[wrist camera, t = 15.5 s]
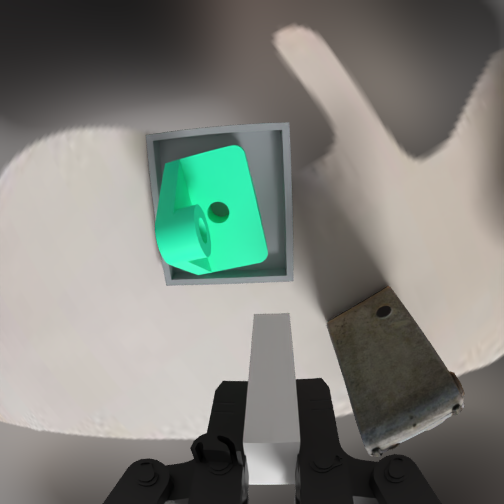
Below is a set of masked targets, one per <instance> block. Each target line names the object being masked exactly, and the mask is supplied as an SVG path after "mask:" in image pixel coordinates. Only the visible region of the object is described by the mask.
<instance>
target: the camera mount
mask: <svg viewBox="0 0 504 504" xmlns="http://www.w3.org/2000/svg"><path fill="white" fill-rule="evenodd" d="M214 202H222V203H224V204H226V205H227V207H228V209H229V214H228V215H226V216H224V217H220V216H217V215H215V214H214V213H213V212H212V209H211V204H212V203H214ZM155 234H156V240H157V245H158V248H159V251H160V253H161V255H162V257H163V259H164V260H165V262H166V263H167V264H169V265H172V266H174V267H177V268H180V269H183V270H185V271H188V272H191V273H194V274H196V275H202V274H207V273H212V272H217V271H222V270H227V269H232V268H237V267H242V266H247V265H252V264H256V263H261V262H263V261H264V260H265V259H266V258H267V255H268V248H267V242H266V238H265V234H264V229H263V225H262V218H261V214H260V209H259V205H258V201H257V197H256V192H255V188H254V184H253V180H252V177H251V174H250V170H249V165H248V161H247V157H246V153H245V151H244V149H243V148H242V147H241V146H238V145H231V146H227V147H223V148H219V149H215V150H211V151H207V152H204V153H200V154H196V155H193V156H189V157H185V158H182V159H178V160H175V161H172V162H168V163H165V167H164V172H163V178H162V184H161V190H160V196H159V202H158V208H157V215H156V222H155Z"/></svg>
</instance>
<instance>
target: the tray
mask: <svg viewBox="0 0 504 504" xmlns="http://www.w3.org/2000/svg"><path fill="white" fill-rule="evenodd" d="M146 142H147V153H148V163H149V172H150V181H151V190H152V198H153V205H154V213H155V220H156V215H157V208H158V202H159V196H160V190H161V184H162V178H163V172H164V167H165V163H168V162H172V161H175V160H178V159H182V158H185V157H189V156H193V155H196V154H200V153H204V152H207V151H211V150H215V149H219V148H223V147H227V146H231V145H238V146H241V147H242V148H243V149H244V151H245V153H246V157H247V161H248V165H249V170H250V174H251V177H252V180H253V184H254V188H255V192H256V197H257V201H258V205H259V209H260V214H261V218H262V225H263V229H264V234H265V238H266V242H267V248H268V255H267V258H266V259H265V260H264V261H263V262H261V263H256V264H252V265H247V266H242V267H237V268H232V269H227V270H222V271H217V272H212V273H207V274H202V275H196V274H194V273H191V272H188V271H185V270H183V269H180V268H177V267H174V266H172V265H169V264H167V263H166V262H165V260H164V259H163V257H162V255H161V258H162V264H163V270H164V276H165V281H166V286H168V285H209V284H239V283H264V282H287V281H293V212H292V177H291V153H290V130H289V123H288V122H287V123H261V124H242V125H228V126H216V127H205V128H196V129H187V130H179V131H171V132H164V133H157V134H150V135H146ZM211 209H212V212H213V213H214V214H215V215H217V216H220V217H224V216H226V215H228V214H229V209H228V207H227V205H226V204H224V203H222V202H214V203H212V204H211Z"/></svg>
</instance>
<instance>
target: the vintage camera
mask: <svg viewBox="0 0 504 504" xmlns="http://www.w3.org/2000/svg"><path fill="white" fill-rule="evenodd" d="M327 328H328V331H329V334H330V338H331V341H332V344H333V347H334V350H335V353H336V356H337V359H338V362H339V366H340V369H341V372H342V375H343V378H344V381H345V385H346V388H347V392H348V395H349V399H350V402H351V406H352V409H353V413H354V416H355V420H356V423H357V426H358V429H359V432H360V434H361V438H362V440H363V443H364V446H365V448H366V450H367V452H368V454H369V455H371V456H376V457H380V456H381V455H382V453H383V452H385V451H388V450H393V449H394V448H396V447H397V446H399V445H400V443H401V442H403V441H405V440H407V439H409V438H411V437H413V436H415V435H417V434H419V433H422V432H423V431H428V430H430V429H432V428H434V427H435V426H437V425H439V424H440V423H442V422H444V420H445V419H446V418H448V417H450V416H452V415H458V414H459V413H460V412H461V411H462V409H463V407H464V400H463V397H464V390H463V388H462V385H461V383H460V381H459V380H458V378H457V377H456V375H455V374H454V372H450V371H448V369H447V368H446V366H445V365H444V363H443V361H442V360H441V358H440V357H439V355H438V354H437V352H436V351H435V349H434V348H433V346H432V345H431V343H430V342H429V341H428V339H427V338H426V336H425V335H424V333H423V332H422V330H421V329H420V327H419V326H418V325H417V323H416V322H415V320H414V319H413V317H412V316H411V315H410V313H409V312H408V310H407V309H406V308H405V306H404V305H403V304H402V302H401V301H400V299H399V298H398V297H397V295H396V294H395V293H394V291H393V290H392V289H391V287H389V286H387V287H386V288H384V289H383V290H381V291H380V292H378V293H376V294H375V295H373V296H371V297H370V298H368V299H366V300H365V301H363V302H361V303H359V304H358V305H356V306H354V307H353V308H351V309H349V310H347V311H346V312H344V313H342V314H340V315H339V316H337V317H335V318H334V319H332V320H330V321H328V322H327Z"/></svg>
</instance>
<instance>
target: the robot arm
mask: <svg viewBox="0 0 504 504" xmlns="http://www.w3.org/2000/svg"><path fill="white" fill-rule="evenodd" d="M191 451H192V454H193V456H194V459H193V460H191V461H189V462H185V463H180V464H174V465H167V466H165V465H164V464H163V463H161V462H159V461H158V460H154V459H141V460H138V461H136V462H134V463H133V464H131V465H130V467H128V469H127V470H126V471H125V473H124V474H123V476H122V477H121V479H120V480H119V481H118V483H117V484H116V486H115V487H114V489H113V490H112V491H111V493H110V494H109V496H108V497H107V499H106V500H105V501H104V503H103V504H249V497H248V485H249V484H255V485H257V484H259V485H261V484H262V485H270V484H271V485H272V484H295V489H296V495H295V500H294V504H441V502H440V500H439V499H438V497H437V496H436V494H435V493H434V491H433V490H432V488H431V487H430V485H429V484H428V482H427V480H426V479H425V478H424V476H423V475H422V473H421V471H420V470H419V468H418V467H417V465H416V464H415V463H414V462H413V461H412V460H411V459H410V458H409V457H406V456H404V455H397V454H394V455H389V456H386V457H384V458H383V459H381V460H379V462H374V461H365V460H359V459H355V458H353V457H351V456H349V455H348V454H346V453H345V452H344V451H343V449H342V448H341V445H340V443H339V438H338V432H337V427H336V421H335V415H334V410H333V405H332V401H331V394H330V389H329V387H328V385H327V384H326V383H325V382H324V380H323V379H322V378H314V379H295V367H294V356H293V345H292V335H291V324H290V314H289V313H282V314H254V320H253V332H252V344H251V356H250V367H249V379H248V381H223V382H222V383H221V384H220V385H219V387H218V388H217V389H216V391H215V395H214V400H213V405H212V410H211V415H210V420H209V425H208V430H207V433H206V434H203V435H201V436H199V437H198V438H197V439H196V440H195V441H194V442H193V444H192V446H191Z"/></svg>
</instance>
